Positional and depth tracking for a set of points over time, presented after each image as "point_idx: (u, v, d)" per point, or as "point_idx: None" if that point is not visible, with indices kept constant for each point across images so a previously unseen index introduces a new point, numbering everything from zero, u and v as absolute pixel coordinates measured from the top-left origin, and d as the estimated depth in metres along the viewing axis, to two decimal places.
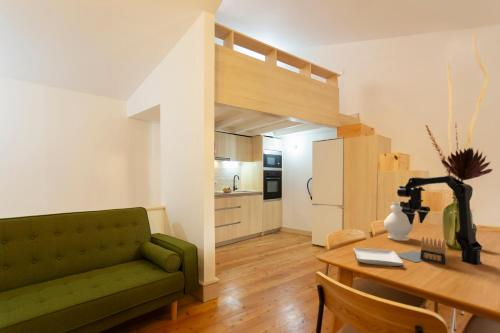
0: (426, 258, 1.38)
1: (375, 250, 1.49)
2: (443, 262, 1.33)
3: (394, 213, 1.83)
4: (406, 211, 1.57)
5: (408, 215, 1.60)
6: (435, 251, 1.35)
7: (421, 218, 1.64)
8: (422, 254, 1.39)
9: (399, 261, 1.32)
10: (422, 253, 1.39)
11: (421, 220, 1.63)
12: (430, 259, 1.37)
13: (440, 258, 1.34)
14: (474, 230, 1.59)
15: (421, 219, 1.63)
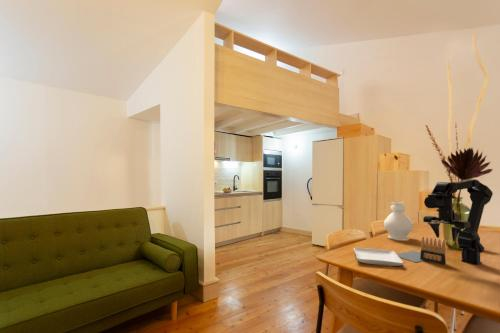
0: (426, 258, 1.38)
1: (375, 250, 1.49)
2: (443, 262, 1.33)
3: (394, 213, 1.83)
4: None
5: None
6: (435, 251, 1.35)
7: None
8: (422, 254, 1.39)
9: (399, 261, 1.32)
10: (422, 253, 1.39)
11: None
12: (430, 259, 1.37)
13: (440, 258, 1.34)
14: None
15: None
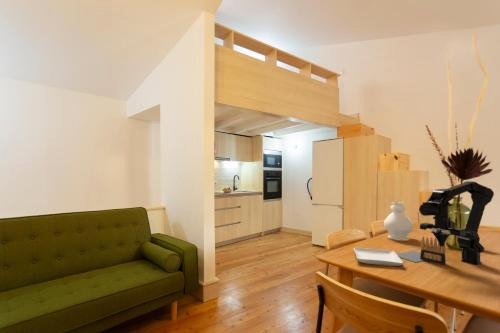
0: (426, 258, 1.38)
1: (375, 250, 1.49)
2: (443, 262, 1.33)
3: (394, 213, 1.83)
4: None
5: None
6: (435, 251, 1.35)
7: None
8: (422, 254, 1.39)
9: (399, 261, 1.32)
10: (422, 253, 1.39)
11: None
12: (430, 259, 1.37)
13: (440, 258, 1.34)
14: None
15: None
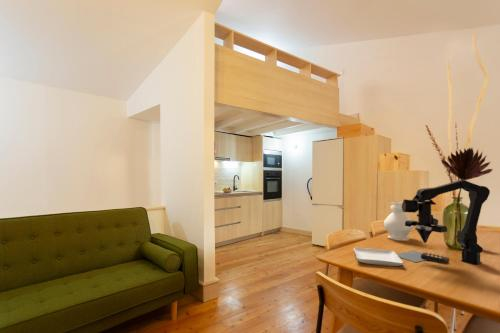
0: (427, 255, 1.40)
1: (375, 250, 1.49)
2: (444, 259, 1.35)
3: (394, 213, 1.83)
4: None
5: None
6: (437, 255, 1.41)
7: None
8: (424, 253, 1.42)
9: (399, 261, 1.32)
10: (424, 253, 1.43)
11: None
12: (431, 256, 1.39)
13: (441, 258, 1.37)
14: None
15: None
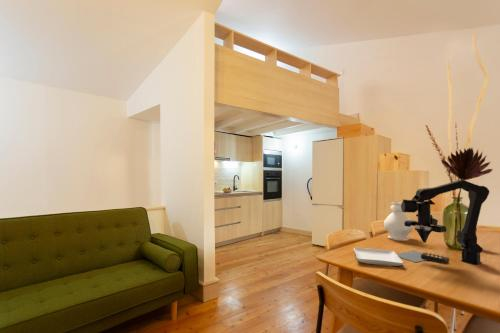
0: (427, 255, 1.40)
1: (375, 250, 1.49)
2: (444, 259, 1.35)
3: (394, 213, 1.83)
4: None
5: None
6: (437, 255, 1.41)
7: None
8: (424, 253, 1.42)
9: (399, 261, 1.32)
10: (424, 253, 1.43)
11: None
12: (431, 256, 1.39)
13: (441, 258, 1.37)
14: None
15: None
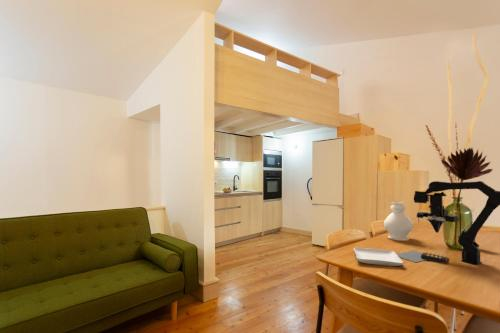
0: (427, 255, 1.40)
1: (375, 250, 1.49)
2: (444, 259, 1.35)
3: (394, 213, 1.83)
4: None
5: None
6: (437, 255, 1.41)
7: None
8: (424, 253, 1.42)
9: (399, 261, 1.32)
10: (424, 253, 1.43)
11: None
12: (431, 256, 1.39)
13: (441, 258, 1.37)
14: None
15: None
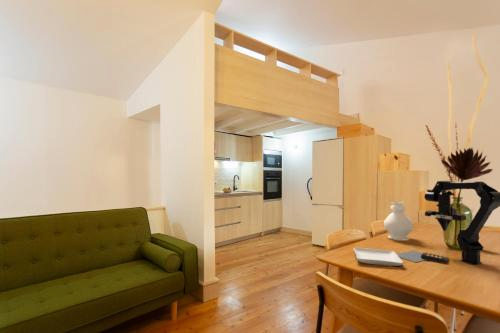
0: (427, 255, 1.40)
1: (375, 250, 1.49)
2: (444, 259, 1.35)
3: (394, 213, 1.83)
4: None
5: None
6: (437, 255, 1.41)
7: None
8: (424, 253, 1.42)
9: (399, 261, 1.32)
10: (424, 253, 1.43)
11: None
12: (431, 256, 1.39)
13: (441, 258, 1.37)
14: None
15: None
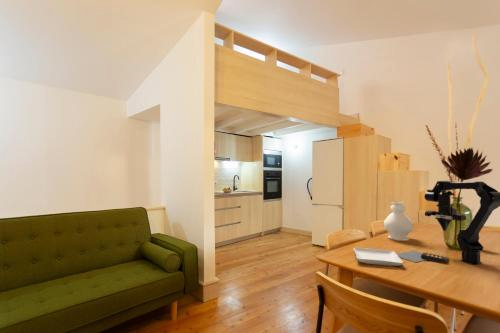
0: (427, 255, 1.40)
1: (375, 250, 1.49)
2: (444, 259, 1.35)
3: (394, 213, 1.83)
4: None
5: None
6: (437, 255, 1.41)
7: None
8: (424, 253, 1.42)
9: (399, 261, 1.32)
10: (424, 253, 1.43)
11: None
12: (431, 256, 1.39)
13: (441, 258, 1.37)
14: None
15: None
